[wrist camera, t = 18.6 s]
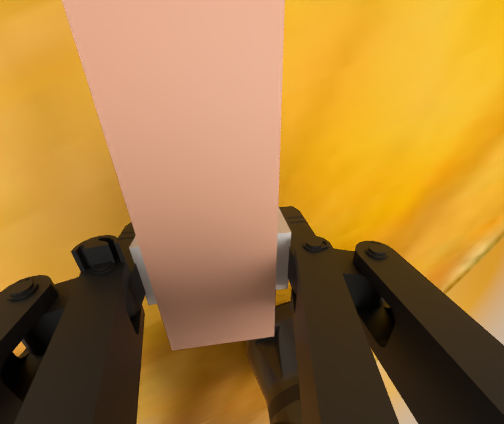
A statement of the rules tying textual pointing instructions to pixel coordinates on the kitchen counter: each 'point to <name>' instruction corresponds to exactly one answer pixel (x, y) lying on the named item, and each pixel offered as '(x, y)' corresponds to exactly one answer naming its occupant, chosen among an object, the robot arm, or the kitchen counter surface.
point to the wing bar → (194, 151)
